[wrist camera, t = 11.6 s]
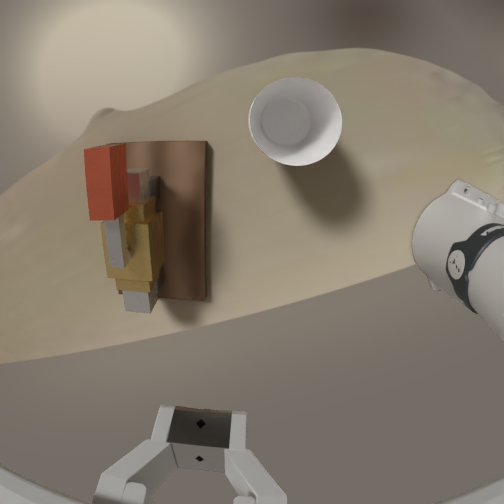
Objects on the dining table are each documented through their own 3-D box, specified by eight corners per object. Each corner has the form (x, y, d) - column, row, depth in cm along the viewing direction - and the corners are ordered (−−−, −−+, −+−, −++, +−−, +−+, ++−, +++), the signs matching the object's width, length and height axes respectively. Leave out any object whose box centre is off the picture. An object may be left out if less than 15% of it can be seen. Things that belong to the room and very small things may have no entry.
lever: (137, 261, 35) (122, 280, 31) (115, 260, 35) (99, 278, 31) (128, 142, 30) (109, 146, 26) (105, 144, 30) (84, 149, 26)
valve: (167, 164, 39) (145, 174, 32) (171, 287, 46) (156, 319, 38) (125, 165, 39) (96, 176, 31) (134, 284, 46) (114, 314, 38)
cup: (258, 161, 41) (259, 176, 30) (243, 95, 37) (238, 84, 26) (325, 149, 40) (350, 159, 29) (312, 83, 36) (333, 69, 25)
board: (207, 140, 40) (205, 141, 38) (206, 295, 49) (205, 300, 47) (109, 143, 40) (105, 144, 38) (122, 289, 48) (119, 293, 47)
